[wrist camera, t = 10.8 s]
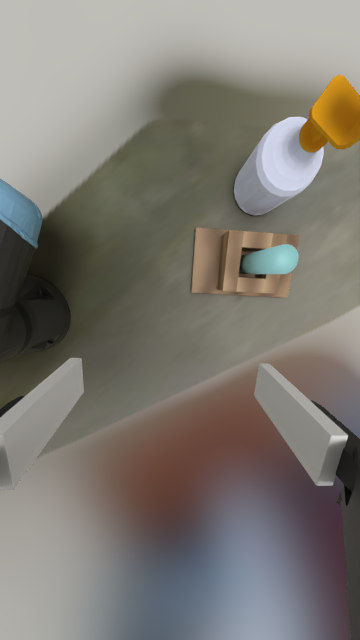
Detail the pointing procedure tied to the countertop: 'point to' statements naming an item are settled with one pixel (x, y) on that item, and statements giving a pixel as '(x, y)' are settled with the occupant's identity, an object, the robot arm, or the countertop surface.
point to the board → (212, 260)
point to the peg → (270, 260)
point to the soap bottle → (298, 149)
